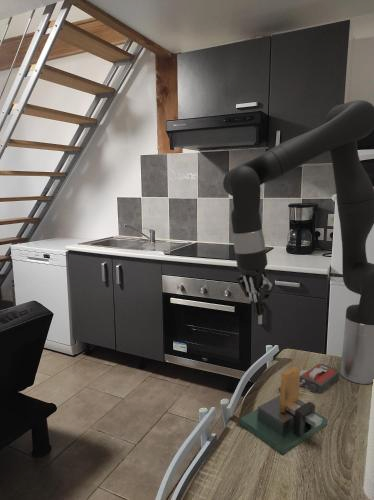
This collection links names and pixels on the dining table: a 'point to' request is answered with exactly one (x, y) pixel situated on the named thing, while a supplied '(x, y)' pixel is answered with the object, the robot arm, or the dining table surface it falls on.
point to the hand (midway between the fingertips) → (259, 314)
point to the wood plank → (294, 395)
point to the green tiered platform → (281, 424)
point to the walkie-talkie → (318, 378)
